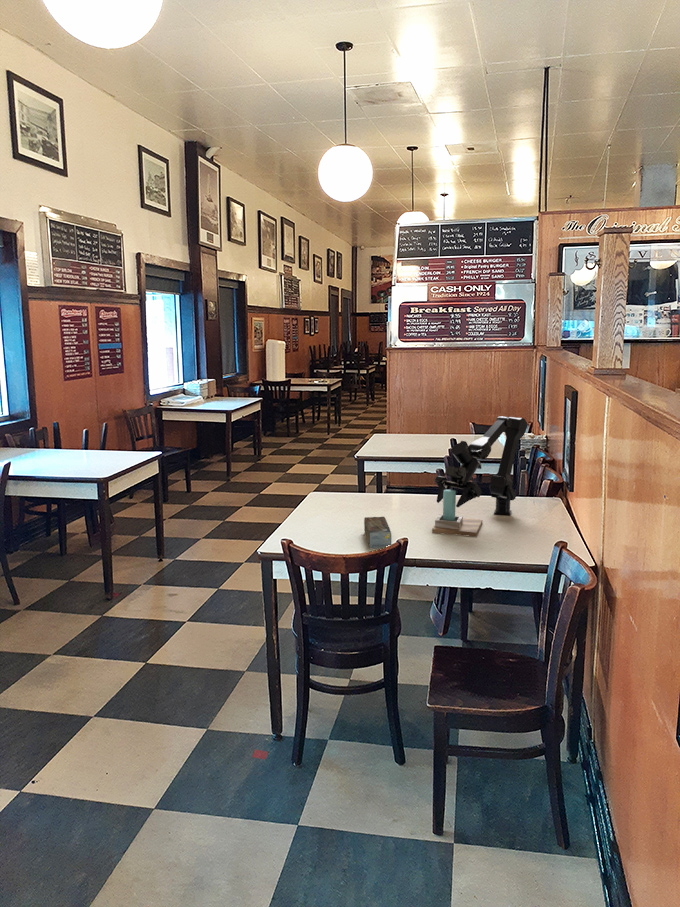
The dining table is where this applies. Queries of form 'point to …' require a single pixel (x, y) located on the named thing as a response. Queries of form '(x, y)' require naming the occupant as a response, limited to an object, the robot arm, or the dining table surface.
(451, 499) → the post
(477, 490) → the robot arm
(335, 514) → the dining table surface
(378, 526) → the beverage carton
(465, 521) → the base board
